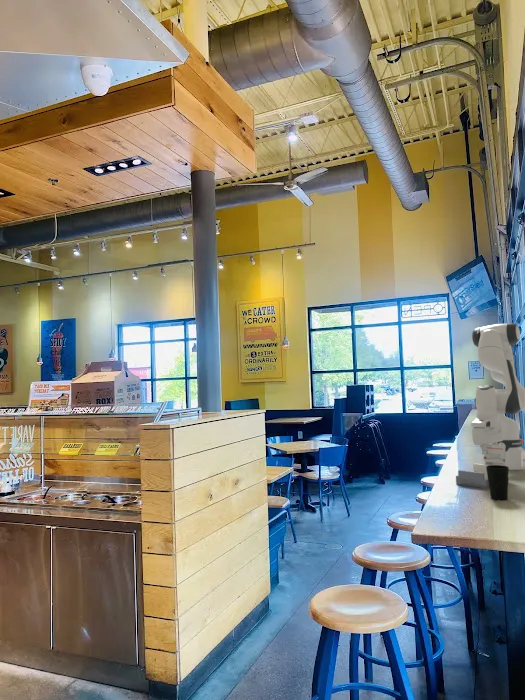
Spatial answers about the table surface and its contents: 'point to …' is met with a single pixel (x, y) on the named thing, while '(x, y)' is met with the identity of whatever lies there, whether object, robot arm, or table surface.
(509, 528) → the table surface
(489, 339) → the robot arm
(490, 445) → the ink box
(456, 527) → the table surface
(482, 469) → the pusher
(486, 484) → the gray stepped block
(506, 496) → the cup
